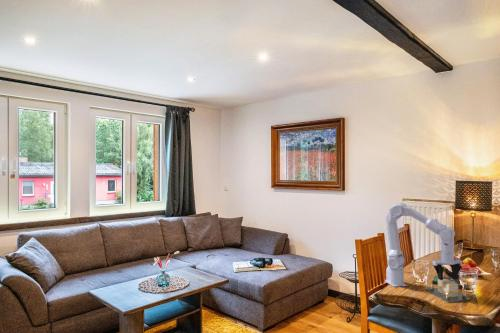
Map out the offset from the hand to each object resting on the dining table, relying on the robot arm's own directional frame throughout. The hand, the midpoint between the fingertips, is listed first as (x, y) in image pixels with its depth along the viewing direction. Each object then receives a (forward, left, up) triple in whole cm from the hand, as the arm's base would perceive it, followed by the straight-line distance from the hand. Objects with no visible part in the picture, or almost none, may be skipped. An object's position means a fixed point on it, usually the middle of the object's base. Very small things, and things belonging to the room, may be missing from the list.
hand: (447, 279), depth 170 cm
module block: (0, 0, -7) cm, 7 cm away
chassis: (0, 0, -8) cm, 8 cm away
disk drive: (-15, +12, -9) cm, 21 cm away
